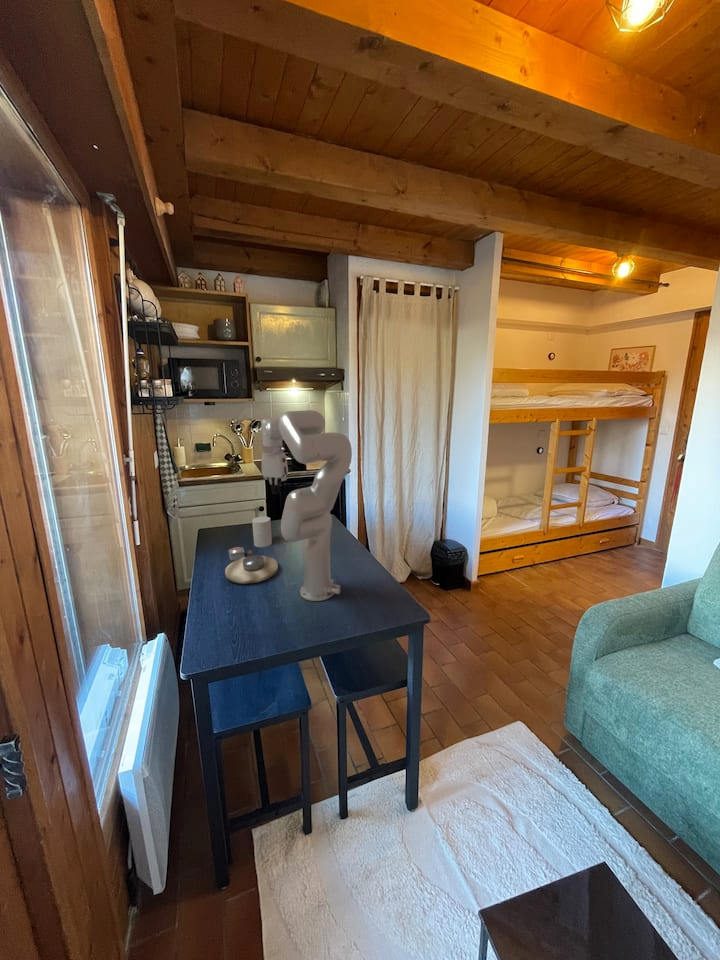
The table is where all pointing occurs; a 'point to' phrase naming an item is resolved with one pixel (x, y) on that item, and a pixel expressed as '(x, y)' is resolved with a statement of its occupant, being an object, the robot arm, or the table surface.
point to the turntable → (241, 576)
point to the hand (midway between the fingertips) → (275, 493)
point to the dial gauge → (236, 553)
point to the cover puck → (253, 563)
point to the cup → (262, 531)
